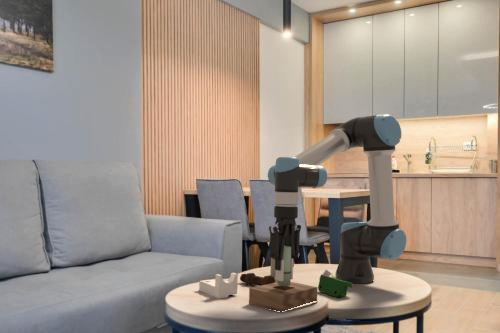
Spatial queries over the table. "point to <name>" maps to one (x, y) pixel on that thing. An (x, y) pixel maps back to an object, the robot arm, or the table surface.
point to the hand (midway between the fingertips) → (284, 279)
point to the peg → (286, 266)
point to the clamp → (333, 286)
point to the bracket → (220, 286)
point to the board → (282, 296)
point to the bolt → (256, 279)
